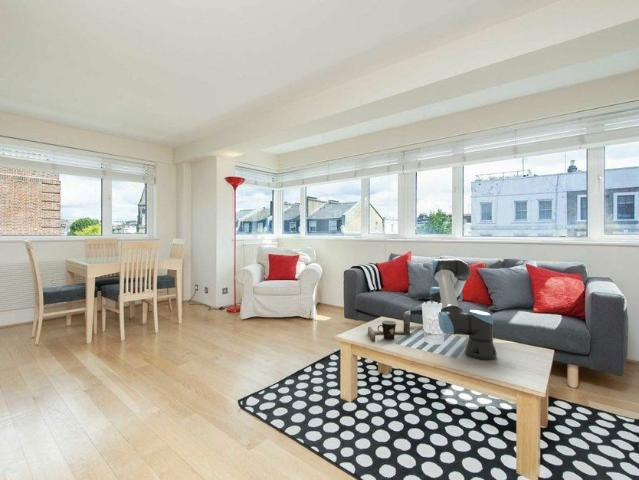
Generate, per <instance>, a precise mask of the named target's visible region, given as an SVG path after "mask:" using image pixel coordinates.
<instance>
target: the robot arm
mask: <svg viewBox="0 0 639 480" xmlns="http://www.w3.org/2000/svg"><path fill="white" fill-rule="evenodd" d="M471 271H472V270H471V267H470V266H469V265H468V263H467V262H465V261H464V260H461V259H458V258H454V259H453V258H434V259H433V260H432V263H431V273H430V275H431V277H432V278H434V280H435V281H436V282H437V283H438V286H431V287H430V289H429V290H430V291H429V302H430V301H435V302H438V303H441V304H442V309H441V312H439V313H438V315H437V317H438V325H439V329H440V330H441V332H442V333H444V334H445V335H461V336H462V335H463V336H468V340H467V343H466V345H465V348H464V353H465V355H467V356H468V357H470V358H472V359H477V360H484V361H492V360H495V359H496V358H497V350H496V348H495V344H494V317H493V316H492V314H490V313H489V312H486V311H481V310H477V309H476V310H475V309H470V310H468V312H463V308H461V307H460V306H459V303H458V302H462V300H463V299H464V298H463V288H464V287H465V285H466V282H467V281H468V280H469V279H470V278H471V274H472V272H471ZM404 313H409V314H410V316H411V315H421V316H423V315H422V308H421V309H419V308H411V309H406V311H404Z"/></svg>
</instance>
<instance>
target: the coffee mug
mask: <svg viewBox="0 0 639 480" xmlns="http://www.w3.org/2000/svg"><path fill="white" fill-rule="evenodd" d="M381 323H382V324H380V325H378V326H377V331H379V332H380V331H381V330H379V328H380V327H382V331H383V333H382V332H380V333H382V334H381V335H383V339H384V340H387V341H391V340H392V341H393V340H394V339H395V335H396V334H395V331H396V327H397V326H396V325H397V322H396V321H395V320H382V321H381Z"/></svg>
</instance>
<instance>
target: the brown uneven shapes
mask: <svg viewBox="0 0 639 480" xmlns="http://www.w3.org/2000/svg"><path fill="white" fill-rule="evenodd" d="M379 331H380V332H382V333H383V330H382V331H381V330H379ZM379 331H378V330H373V328H372V326H368V327H367V334H368V336H369V338H370V341H371V342H376V335H383V334H382V333H380V332H379ZM395 335H411V315H410V314H409V313H405V312H404V313H403V331H402V330H398V331H397V330H395Z"/></svg>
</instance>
